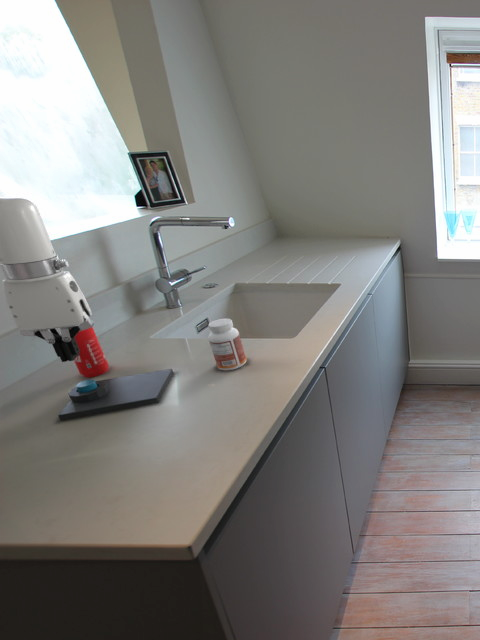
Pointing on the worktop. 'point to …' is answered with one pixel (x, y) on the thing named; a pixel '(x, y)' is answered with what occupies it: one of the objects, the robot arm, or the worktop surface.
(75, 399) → the scale
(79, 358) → the beverage can
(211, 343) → the pill bottle
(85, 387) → the tare button
